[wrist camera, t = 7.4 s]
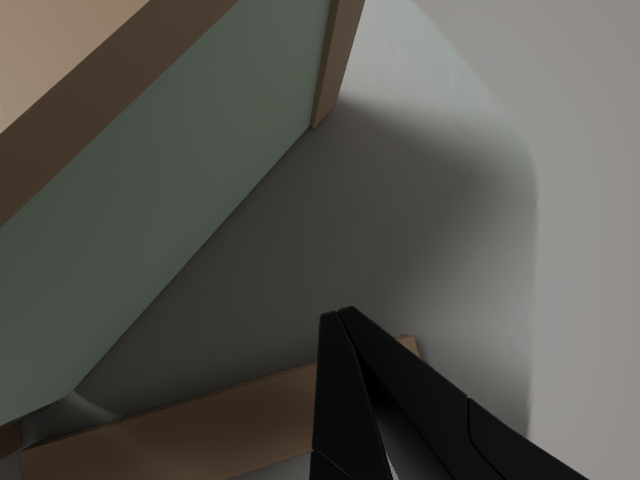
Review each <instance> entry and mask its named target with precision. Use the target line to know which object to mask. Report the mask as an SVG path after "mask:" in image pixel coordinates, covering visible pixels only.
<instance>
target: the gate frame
mask: <svg viewBox="0 0 640 480" xmlns="http://www.w3.org/2000/svg"><path fill="white" fill-rule="evenodd" d="M395 339H396V340H397V341H399V342H400V343H401V344H402V345H404V346H405V347H406V348H408V349H409V350H410V351H411V352H413V353H414V354H415V355H416V356H418V357H419V358H420V356H419V352H418V349H417V345H416V342H415V339H414V336H412V335H408V334H406V335H403V336H399V337H396V338H395ZM316 369H317V361H314V362H311V363H307V364H304V365H300V366H297V367H294V368H290V369H287V370H283V371H280V372H276V373H273V374H270V375H266V376H263V377H259V378H256V379H253V380H249V381H246V382H242V383H239V384H236V385H232V386H229V387H225V388H222V389H219V390H215V391H212V392H208V393H205V394H201V395H198V396H195V397H191V398H188V399H184V400H181V401H178V402H174V403H171V404H167V405H164V406H161V407H157V408H154V409H150V410H147V411H144V412H140V413H137V414H133V415H130V416H126V417H123V418H120V419H116V420H113V421H109V422H106V423H103V424H99V425H96V426H92V427H89V428H86V429H82V430H79V431H75V432H72V433H69V434H65V435H62V436H58V437H55V438H51V439H48V440H45V441H41V442H38V443H34V444H32V445H31V446H29V447H27V448H25V449H24V450H22V451H20V452H19V459H20V466H21V473H22V480H226V479H229V478H232V477H235V476H238V475H241V474H244V473H247V472H250V471H253V470H256V469H259V468H262V467H265V466H268V465H271V464H275V463H278V462H281V461H284V460H287V459H290V458H293V457H296V456H299V455H302V454H305V453H308V452H311V451H312V432H313V417H314V401H315V385H316ZM50 405H51V403H50V404H48V405H46V406H44V407H41V408H39V409H37V410H35V411H32V412H30V413H28V414H26V415H23V416H21V417H19V418H17V419H14V420H12V421H10V422H8V423H5V424H3V425H1V426H0V459H2V458H4V457H5V456H7V455H9V454H11V453H12V452H14V451H16V450H18V449H20V448H21V447H22V444H21V437H20V430H19V423H18V421H20V420H22V419H24V418H26V417H29V416H31V415H33V414H35V413H37V412H39V411H42V410H44V409H46V408H48V407H49V406H50Z"/></svg>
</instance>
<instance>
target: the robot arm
mask: <svg viewBox="0 0 640 480" xmlns="http://www.w3.org/2000/svg"><path fill="white" fill-rule="evenodd" d="M385 451H386V453H387V455H388V457H389V459H390V461H391V463H392V466H393V468H394V470H395V472H396V474H397V476H398V478H399V480H589V479H587V478H586V477H584V476H583V475H581V474H580V473H578V472H577V471H575V470H573V469H572V468H570V467H569V466H567V465H566V464H564V463H563V462H561V461H560V460H558V459H556V458H555V457H553V456H551V455H550V454H549V453H547V452H546V451H544V450H543V449H541V448H539V447H538V446H536V445H535V444H533V443H532V442H530V441H529V440H527V439H526V438H525V437H523V436H522V435H520V434H519V433H517V432H516V431H514V430H513V429H511V428H510V427H508V426H507V425H506V424H504V423H503V422H502V421H500V420H499V419H498V418H496V417H495V416H494V415H492V414H491V413H490V412H488V411H487V410H486V409H484V408H483V407H482V406H480V405H479V404H478V403H477V402H475V401H474V400H473V399H472V398H467V395H466V394H465V393H464V392H462V391H461V390H460V389H459V388H457V387H456V386H455V385H453V384H452V383H451V382H450V381H448V380H447V379H446V378H445V377H443V376H442V375H441V374H439V373H438V372H437V371H436V370H434V369H433V368H432V367H430V366H429V365H428V364H427V363H425V362H424V361H423V360H422V359H420V358H419V357H418V356H416V355H415V354H414V353H413V352H411V351H410V350H409V349H408V348H406V347H405V346H404V345H402V344H401V343H400V342H399V341H397V340H396V339H395V338H393V337H392V336H391V335H390V334H388V333H387V332H386V331H385V330H383V329H382V328H381V327H379V326H378V325H377V324H376V323H374V322H373V321H372V320H370V319H369V318H368V317H367V316H365V315H364V314H363V313H362V312H360V311H359V310H358V309H356V308H355V307H353V306H348V307H345V308H341V309H339V310H337V312H336V311H331V312H327V313H324V314H321V315H320V322H319V338H318V354H317V369H316V385H315V401H314V417H313V432H312V452H311V460H310V475H309V480H393V477H392V473H391V470H390V466H389V463H388V460H387V456H386V453H385Z"/></svg>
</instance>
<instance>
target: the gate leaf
mask: <svg viewBox="0 0 640 480" xmlns="http://www.w3.org/2000/svg"><path fill="white" fill-rule="evenodd" d="M364 2H365V0H0V426H1V425H3V424H5V423H8V422H10V421H12V420H14V419H17V418H19V417H21V416H23V415H26V414H28V413H30V412H32V411H35V410H37V409H39V408H41V407H44V406H46V405H48V404H50V403H53V402H55V401H57V400H60V399H62V398H64V397H66V396H68V395H69V394H70V393H71V392H72V391H73V390H74V389H75V388H76V386H77V385H78V384H79V383H80V382H81V381H82V380H83V379H84V377H85V376H86V375H87V374H88V373H89V372H90V371H91V370H92V368H93V367H94V366H95V365H96V364H97V363H98V362H99V361H100V360H101V358H102V357H103V356H104V355H105V354H106V353H107V352H108V351H109V349H110V348H111V347H112V346H113V345H114V344H115V343H116V342H117V341H118V339H119V338H120V337H121V336H122V335H123V334H124V333H125V332H126V330H127V329H128V328H129V327H130V326H131V325H132V324H133V323H134V321H135V320H136V319H137V318H138V317H139V316H140V315H141V314H142V313H143V311H144V310H145V309H146V308H147V307H148V306H149V305H150V304H151V302H152V301H153V300H154V299H155V298H156V297H157V296H158V295H159V294H160V292H161V291H162V290H163V289H164V288H165V287H166V286H167V285H168V283H169V282H170V281H171V280H172V279H173V278H174V277H175V276H176V274H177V273H178V272H179V271H180V270H181V269H182V268H183V267H184V266H185V264H186V263H187V262H188V261H189V260H190V259H191V258H192V257H193V255H194V254H195V253H196V252H197V251H198V250H199V249H200V248H201V247H202V245H203V244H204V243H205V242H206V241H207V240H208V239H209V238H210V236H211V235H212V234H213V233H214V232H215V231H216V230H217V229H218V227H219V226H220V225H221V224H222V223H223V222H224V221H225V220H226V219H227V217H228V216H229V215H230V214H231V213H232V212H233V211H234V210H235V208H236V207H237V206H238V205H239V204H240V203H241V202H242V201H243V200H244V198H245V197H246V196H247V195H248V194H249V193H250V192H251V191H252V189H253V188H254V187H255V186H256V185H257V184H258V183H259V182H260V180H261V179H262V178H263V177H264V176H265V175H266V174H267V173H268V172H269V170H270V169H271V168H272V167H273V166H274V165H275V164H276V163H277V161H278V160H279V159H280V158H281V157H282V156H283V155H284V154H285V153H286V151H287V150H288V149H289V148H290V147H291V146H292V145H293V144H294V142H295V141H296V140H297V139H298V138H299V137H300V136H301V135H302V133H303V132H304V131H305V130H306V129H307V128H308V127H309V126H311V127H312V128H313V129H314V128H315V127H316V126H317V125H318V124H319V123H320V122H321V120H322V119H323V118H324V117H325V116H326V115H327V114H328V113H329V111H330V110H331V109H332V108H333V107H334V106H335V105H336V101H337V98H338V94H339V91H340V87H341V83H342V80H343V76H344V73H345V69H346V66H347V62H348V59H349V55H350V52H351V48H352V45H353V41H354V38H355V34H356V31H357V27H358V24H359V20H360V17H361V13H362V10H363V6H364Z"/></svg>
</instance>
